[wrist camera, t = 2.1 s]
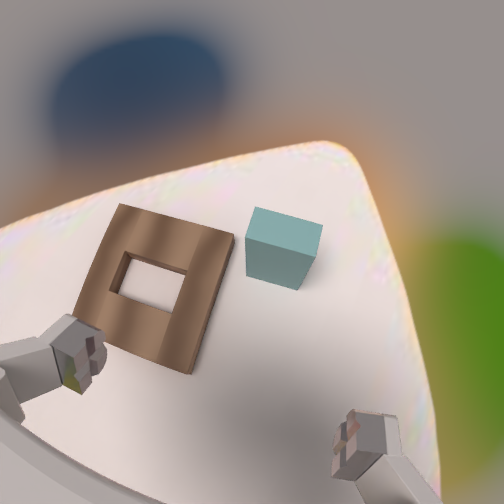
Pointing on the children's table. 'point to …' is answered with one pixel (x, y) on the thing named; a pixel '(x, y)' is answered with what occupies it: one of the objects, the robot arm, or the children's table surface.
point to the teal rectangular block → (280, 247)
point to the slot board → (165, 256)
